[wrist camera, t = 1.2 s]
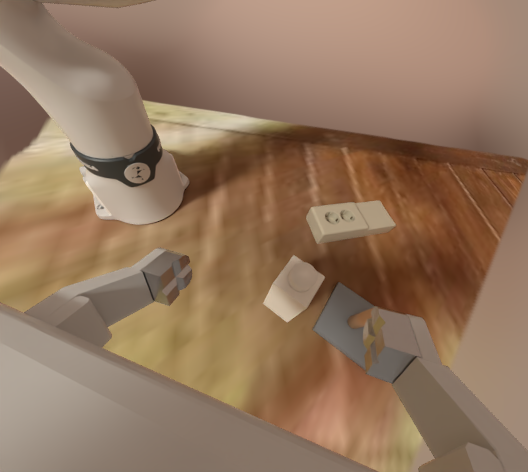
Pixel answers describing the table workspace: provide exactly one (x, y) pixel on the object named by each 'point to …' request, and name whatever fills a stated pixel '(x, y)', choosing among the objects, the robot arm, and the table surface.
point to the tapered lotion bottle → (293, 289)
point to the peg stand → (345, 322)
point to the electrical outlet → (348, 221)
